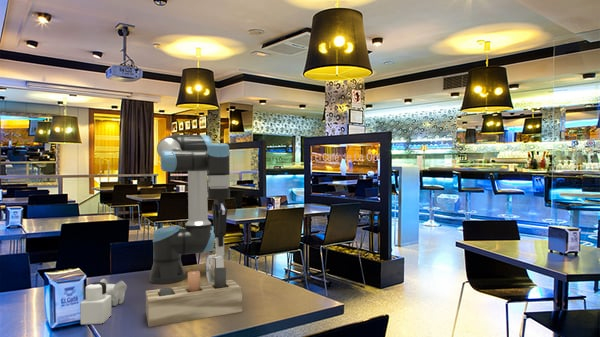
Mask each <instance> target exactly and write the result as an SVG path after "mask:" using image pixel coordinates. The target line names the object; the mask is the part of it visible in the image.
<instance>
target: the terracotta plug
mask: <svg viewBox="0 0 600 337" xmlns="http://www.w3.org/2000/svg"><path fill="white" fill-rule="evenodd" d="M200 284H201V271H200V270H197V269H196V270H189V271H187V286H188V293H189V292H196V291H200Z"/></svg>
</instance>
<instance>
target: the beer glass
mask: <svg viewBox="0 0 600 337" xmlns="http://www.w3.org/2000/svg"><path fill="white" fill-rule="evenodd" d="M221 267H222V268H225V262H224V256H216V254H208V255H206V256H205V274H206V281H207V283H211V282H214V269H215V268H221Z"/></svg>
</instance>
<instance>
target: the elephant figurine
mask: <svg viewBox="0 0 600 337" xmlns="http://www.w3.org/2000/svg"><path fill="white" fill-rule="evenodd" d="M99 282H103V283H105V284H106V295H111V307H116V306H117V305H121V304H123V303H124V300H125V296H126V295H125V294H126V292H127V288H128V286H127V284H126V283H125V282H124V281H123V280H119V281H118V282H117V283H115V284H114V283H108V281H107V279H105V278H102V279H100V280H99Z"/></svg>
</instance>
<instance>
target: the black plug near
mask: <svg viewBox="0 0 600 337" xmlns="http://www.w3.org/2000/svg"><path fill="white" fill-rule="evenodd" d="M172 288H173V287H163V288H159V289H160V296H167V295H173V289H172Z"/></svg>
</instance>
